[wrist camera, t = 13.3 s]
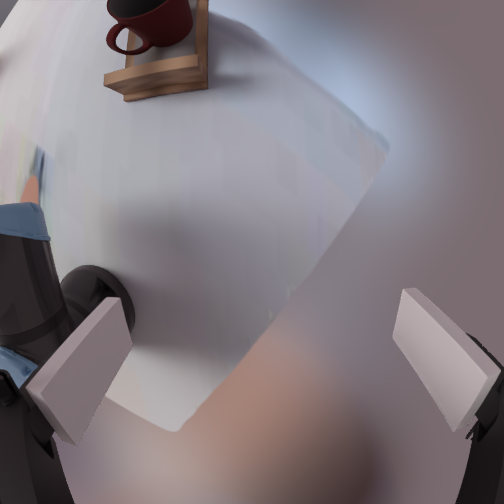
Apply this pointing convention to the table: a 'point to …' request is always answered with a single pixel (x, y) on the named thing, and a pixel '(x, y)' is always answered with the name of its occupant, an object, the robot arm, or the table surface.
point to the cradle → (166, 63)
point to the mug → (150, 22)
